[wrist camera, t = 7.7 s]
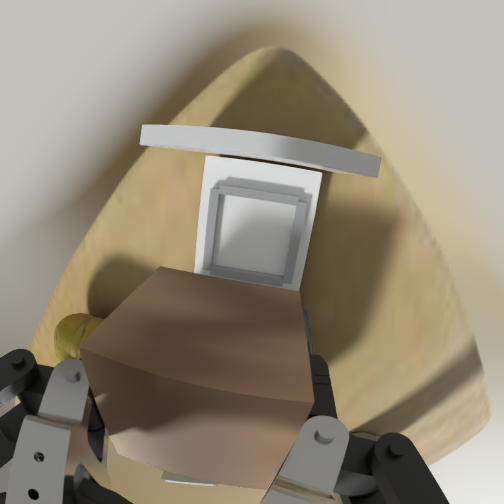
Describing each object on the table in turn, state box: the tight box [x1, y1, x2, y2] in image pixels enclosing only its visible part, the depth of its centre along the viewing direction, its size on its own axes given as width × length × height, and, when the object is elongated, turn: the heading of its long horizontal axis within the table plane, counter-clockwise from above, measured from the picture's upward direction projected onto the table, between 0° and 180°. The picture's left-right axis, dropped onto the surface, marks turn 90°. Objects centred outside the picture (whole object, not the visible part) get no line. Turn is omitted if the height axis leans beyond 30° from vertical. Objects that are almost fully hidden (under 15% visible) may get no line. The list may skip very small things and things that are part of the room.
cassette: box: [161, 470, 218, 486], centre depth 38 cm, size 12×2×8 cm, turn 108°
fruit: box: [54, 313, 105, 363], centre depth 29 cm, size 11×12×10 cm
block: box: [78, 266, 314, 490], centre depth 8 cm, size 5×5×5 cm
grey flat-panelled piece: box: [140, 125, 381, 291], centre depth 21 cm, size 14×15×11 cm
